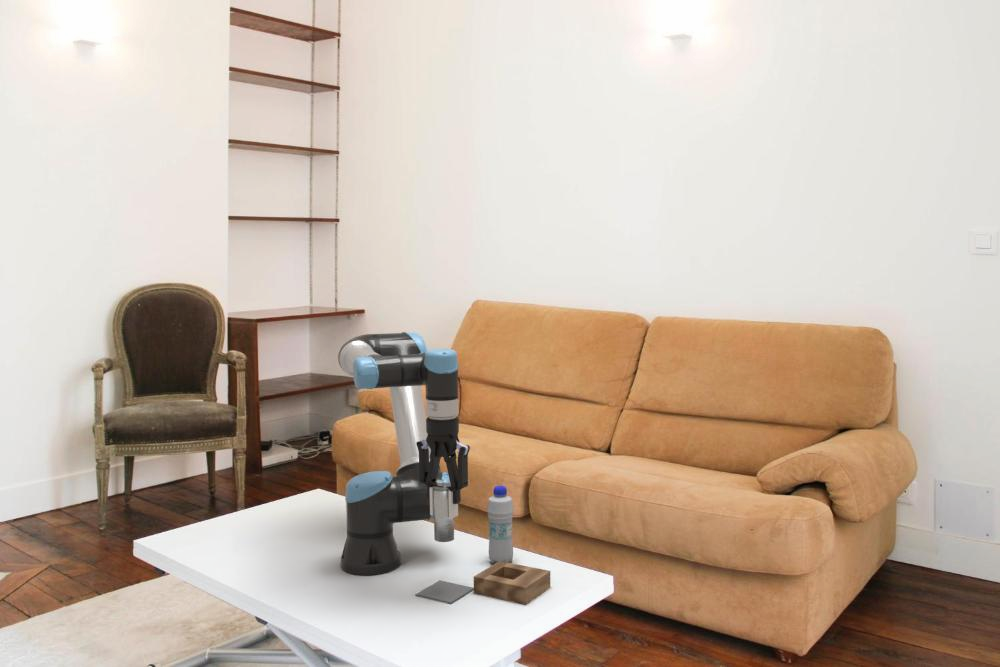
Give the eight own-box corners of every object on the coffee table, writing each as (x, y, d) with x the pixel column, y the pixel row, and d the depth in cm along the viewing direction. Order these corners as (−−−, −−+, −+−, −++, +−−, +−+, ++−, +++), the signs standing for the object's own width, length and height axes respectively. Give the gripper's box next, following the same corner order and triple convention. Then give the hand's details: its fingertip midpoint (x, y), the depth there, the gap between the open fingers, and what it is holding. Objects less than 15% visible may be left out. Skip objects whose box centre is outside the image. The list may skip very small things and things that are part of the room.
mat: (415, 595, 214) (415, 594, 214) (439, 581, 222) (439, 580, 222) (451, 604, 209) (451, 602, 209) (474, 589, 217) (474, 587, 217)
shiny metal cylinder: (430, 540, 213) (429, 486, 212) (441, 534, 217) (440, 481, 216) (447, 543, 211) (446, 488, 210) (458, 537, 215) (457, 484, 213)
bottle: (511, 567, 232) (510, 490, 229) (485, 565, 233) (484, 488, 231) (516, 558, 238) (515, 482, 236) (491, 556, 239) (490, 481, 237)
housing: (473, 593, 215) (473, 576, 215) (499, 576, 225) (499, 560, 225) (525, 604, 208) (525, 587, 207) (550, 587, 218) (550, 570, 218)
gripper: (401, 415, 212) (403, 514, 215) (465, 422, 203) (467, 525, 206) (420, 410, 219) (422, 505, 221) (483, 417, 210) (484, 516, 212)
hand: (444, 515), depth 213 cm, fingers closed on shiny metal cylinder, 5 cm apart
